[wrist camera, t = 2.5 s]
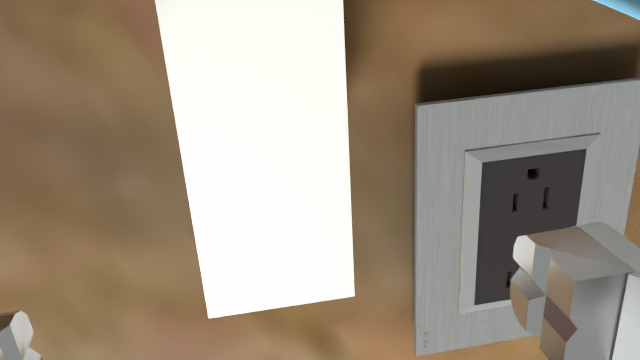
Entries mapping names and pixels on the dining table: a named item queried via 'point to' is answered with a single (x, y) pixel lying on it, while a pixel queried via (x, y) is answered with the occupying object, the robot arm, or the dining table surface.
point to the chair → (624, 6)
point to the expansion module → (263, 147)
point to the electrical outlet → (510, 195)
